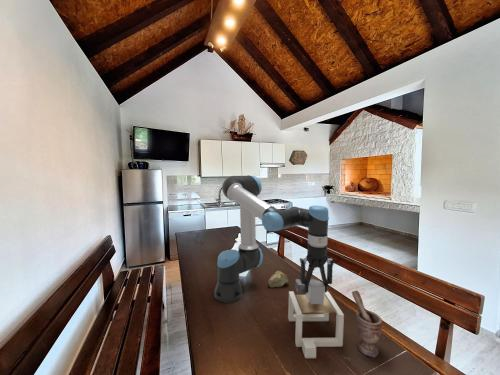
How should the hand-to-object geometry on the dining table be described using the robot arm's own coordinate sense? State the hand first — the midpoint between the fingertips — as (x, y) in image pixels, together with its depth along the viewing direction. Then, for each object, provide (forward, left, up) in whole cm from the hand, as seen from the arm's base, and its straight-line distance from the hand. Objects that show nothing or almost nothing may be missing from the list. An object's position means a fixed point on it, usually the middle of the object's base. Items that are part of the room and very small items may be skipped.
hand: (315, 299), depth 89 cm
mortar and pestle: (+17, -7, -15) cm, 24 cm away
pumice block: (-5, -10, -15) cm, 19 cm away
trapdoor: (0, +5, -3) cm, 6 cm away
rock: (-10, +39, -15) cm, 43 cm away
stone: (0, 0, 0) cm, 0 cm away
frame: (0, +1, -15) cm, 15 cm away
